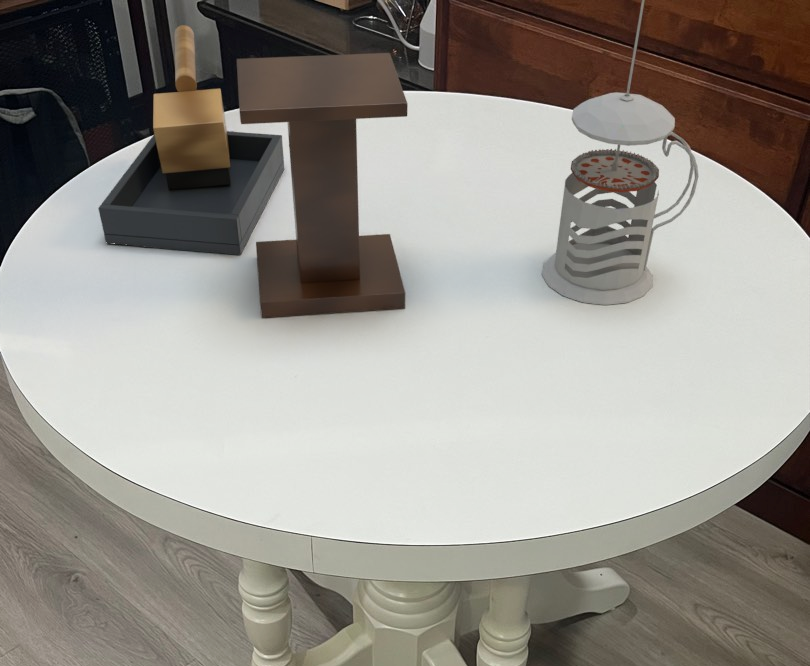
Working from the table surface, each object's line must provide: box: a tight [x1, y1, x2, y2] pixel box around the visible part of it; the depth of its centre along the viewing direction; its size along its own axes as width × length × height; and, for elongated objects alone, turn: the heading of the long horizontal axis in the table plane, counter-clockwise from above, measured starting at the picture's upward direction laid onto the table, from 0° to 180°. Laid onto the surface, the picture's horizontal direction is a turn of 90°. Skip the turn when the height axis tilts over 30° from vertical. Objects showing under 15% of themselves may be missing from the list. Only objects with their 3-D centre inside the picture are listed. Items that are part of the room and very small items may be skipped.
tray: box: [97, 130, 285, 256], centre depth 95 cm, size 18×13×4 cm
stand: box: [236, 52, 409, 319], centre depth 80 cm, size 12×10×17 cm
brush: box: [152, 24, 231, 190], centre depth 99 cm, size 6×19×8 cm, turn 9°
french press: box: [541, 0, 699, 306], centre depth 79 cm, size 10×12×25 cm
